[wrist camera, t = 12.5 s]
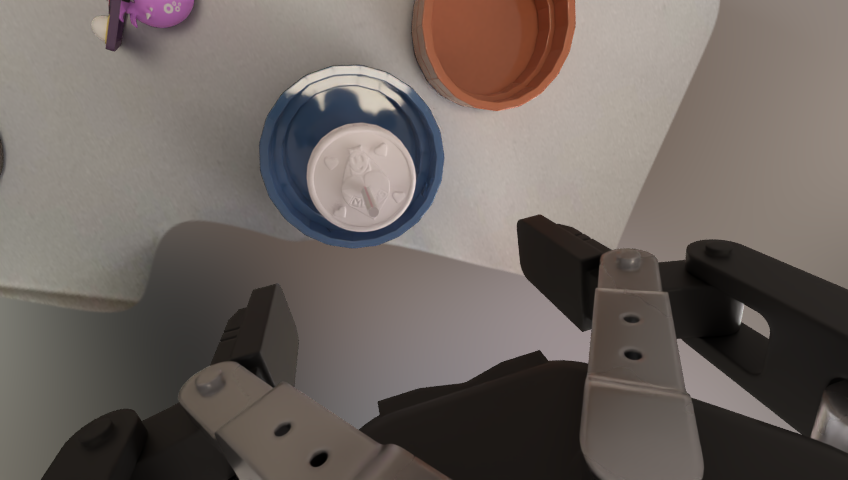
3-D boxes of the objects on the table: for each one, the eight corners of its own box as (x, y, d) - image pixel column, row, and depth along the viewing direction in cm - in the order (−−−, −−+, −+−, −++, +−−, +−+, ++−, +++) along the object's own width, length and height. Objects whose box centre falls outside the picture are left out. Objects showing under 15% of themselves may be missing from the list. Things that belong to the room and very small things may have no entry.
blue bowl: (297, 245, 34) (293, 267, 30) (243, 84, 29) (229, 85, 25) (440, 209, 36) (455, 225, 32) (413, 52, 30) (427, 47, 26)
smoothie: (325, 202, 33) (325, 277, 20) (300, 123, 30) (280, 152, 17) (400, 182, 34) (445, 242, 21) (382, 103, 31) (420, 117, 18)
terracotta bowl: (425, 119, 33) (437, 124, 29) (397, -42, 28) (408, -61, 24) (550, 92, 34) (577, 93, 30) (543, -65, 30) (573, -86, 26)
